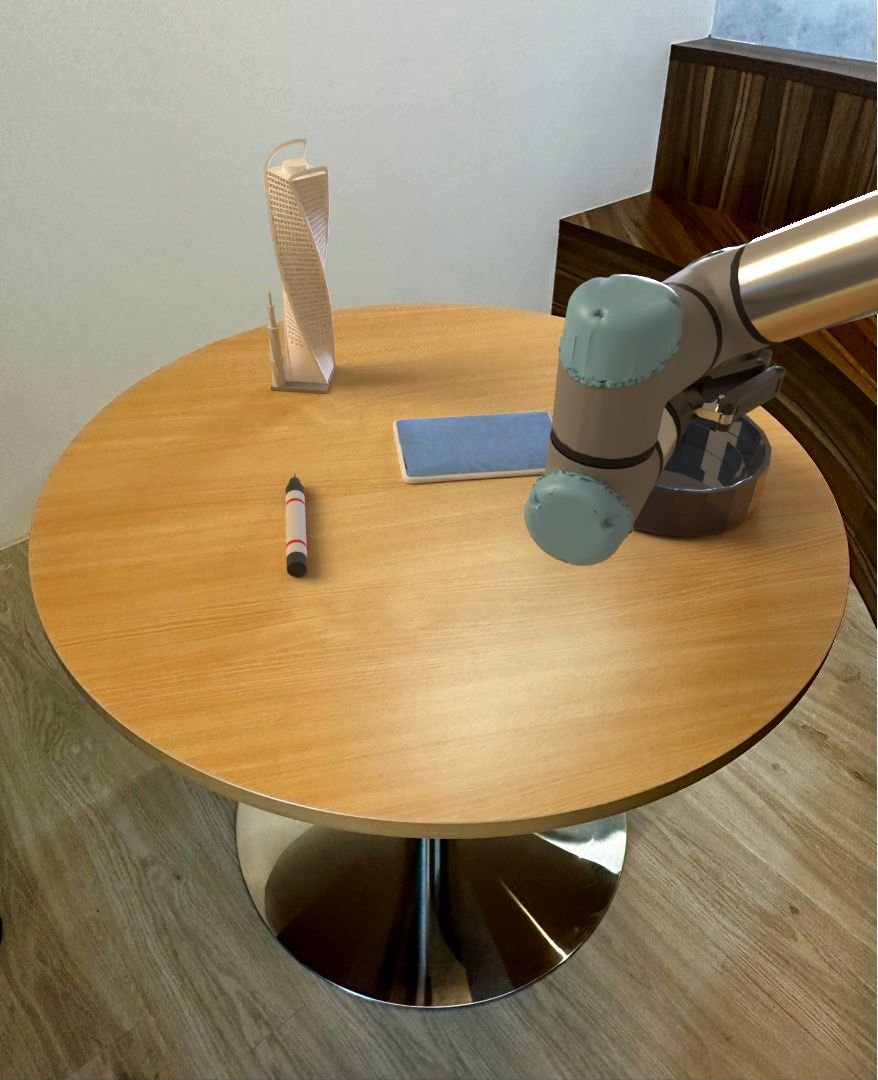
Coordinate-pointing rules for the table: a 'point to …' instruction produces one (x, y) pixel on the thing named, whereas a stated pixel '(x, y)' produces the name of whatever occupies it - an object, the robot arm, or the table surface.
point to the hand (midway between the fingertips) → (701, 324)
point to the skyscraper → (300, 274)
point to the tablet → (472, 446)
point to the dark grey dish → (708, 480)
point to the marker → (295, 528)
